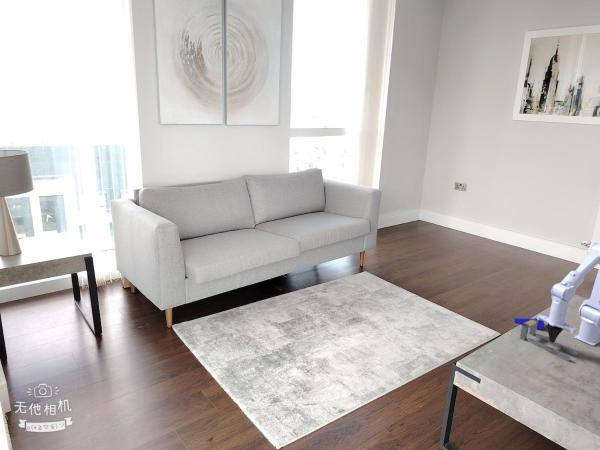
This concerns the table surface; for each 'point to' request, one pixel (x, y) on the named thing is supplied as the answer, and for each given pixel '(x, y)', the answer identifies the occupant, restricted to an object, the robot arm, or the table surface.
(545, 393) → the table surface
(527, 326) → the bracket
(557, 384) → the table surface
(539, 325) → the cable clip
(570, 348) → the guide channel
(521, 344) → the table surface
